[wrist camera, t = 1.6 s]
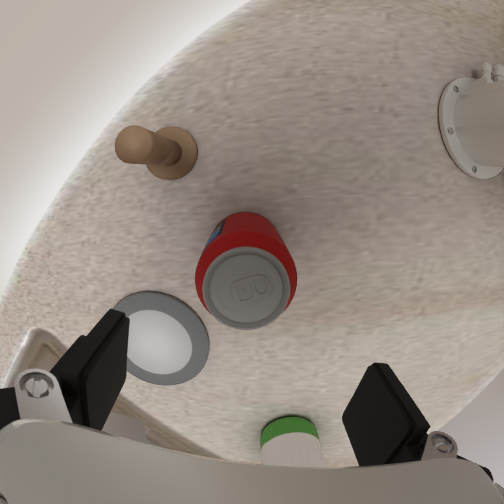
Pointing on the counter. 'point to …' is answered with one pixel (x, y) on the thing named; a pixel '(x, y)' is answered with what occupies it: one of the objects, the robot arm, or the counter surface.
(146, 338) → the pad
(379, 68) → the counter surface
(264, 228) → the beverage can
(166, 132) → the stand post
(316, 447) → the wine bottle
